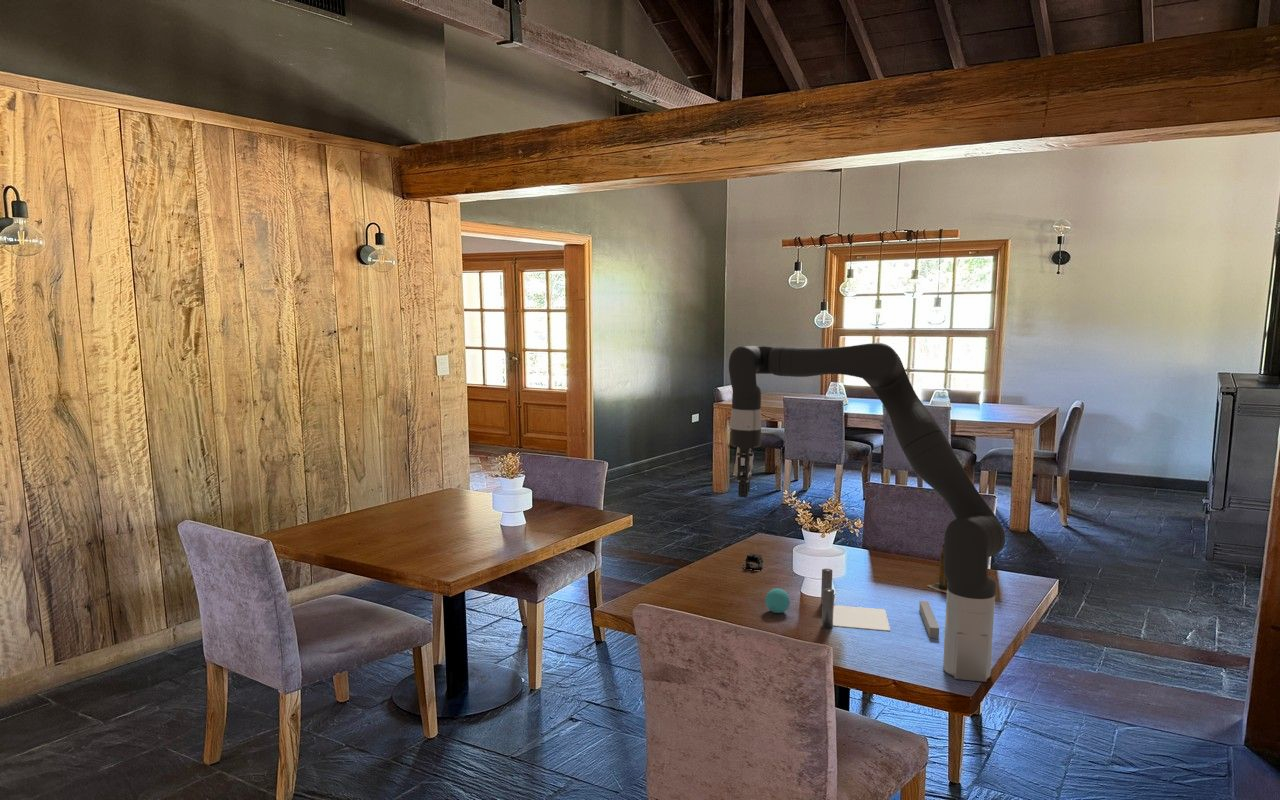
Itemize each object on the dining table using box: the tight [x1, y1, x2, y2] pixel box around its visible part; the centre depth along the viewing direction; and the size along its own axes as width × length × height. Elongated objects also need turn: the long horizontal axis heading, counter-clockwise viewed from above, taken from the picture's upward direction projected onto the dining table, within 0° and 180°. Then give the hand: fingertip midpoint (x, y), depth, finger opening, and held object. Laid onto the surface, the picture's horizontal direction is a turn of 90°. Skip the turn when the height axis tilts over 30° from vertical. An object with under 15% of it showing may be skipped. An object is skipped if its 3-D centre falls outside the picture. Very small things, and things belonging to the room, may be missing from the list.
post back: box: [820, 568, 833, 606], centre depth 206 cm, size 3×3×9 cm
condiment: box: [927, 543, 947, 594], centre depth 219 cm, size 7×8×12 cm
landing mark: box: [833, 604, 891, 632], centre depth 197 cm, size 14×14×1 cm
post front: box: [821, 588, 835, 630], centre depth 190 cm, size 3×3×9 cm
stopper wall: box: [918, 600, 940, 640], centre depth 193 cm, size 18×2×2 cm, turn 168°
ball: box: [765, 588, 791, 614], centre depth 200 cm, size 6×6×6 cm
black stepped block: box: [739, 552, 765, 571], centre depth 235 cm, size 12×7×5 cm, turn 59°
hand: (744, 493), depth 199 cm, fingers open, 5 cm apart
